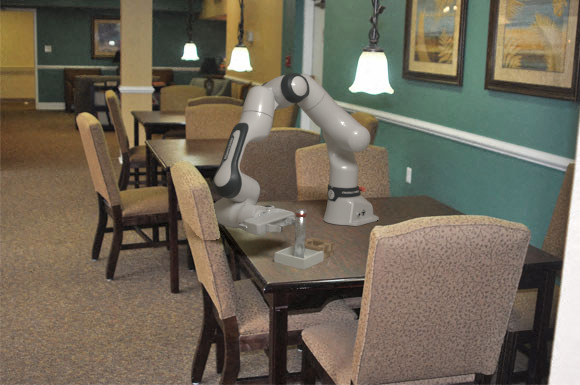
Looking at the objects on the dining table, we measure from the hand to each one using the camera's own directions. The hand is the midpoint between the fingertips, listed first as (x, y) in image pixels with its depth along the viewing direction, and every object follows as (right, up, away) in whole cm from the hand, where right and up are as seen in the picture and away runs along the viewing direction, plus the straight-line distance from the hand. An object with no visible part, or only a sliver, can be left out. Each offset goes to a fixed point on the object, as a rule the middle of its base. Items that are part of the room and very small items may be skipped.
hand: (290, 226), depth 206 cm
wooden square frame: (+8, -10, +7) cm, 14 cm away
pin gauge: (+3, -10, 0) cm, 11 cm away
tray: (+3, -11, 0) cm, 11 cm away
